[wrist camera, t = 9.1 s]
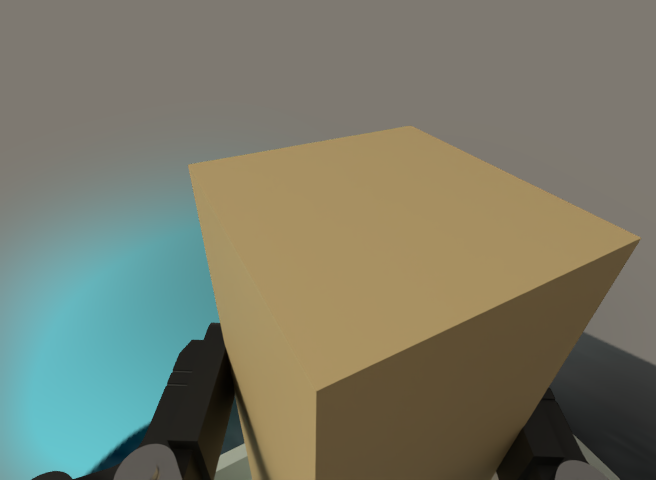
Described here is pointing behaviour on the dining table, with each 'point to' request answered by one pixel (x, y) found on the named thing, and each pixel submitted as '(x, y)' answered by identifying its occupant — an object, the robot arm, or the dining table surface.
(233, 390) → the robot arm
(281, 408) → the juice carton
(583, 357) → the dining table surface
